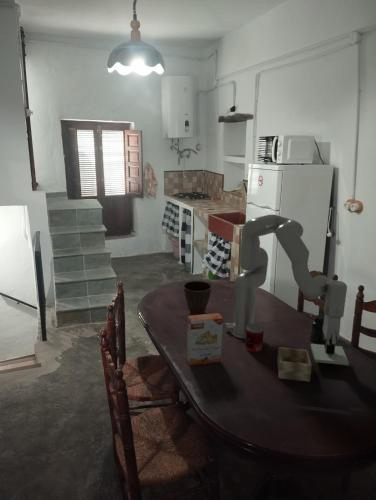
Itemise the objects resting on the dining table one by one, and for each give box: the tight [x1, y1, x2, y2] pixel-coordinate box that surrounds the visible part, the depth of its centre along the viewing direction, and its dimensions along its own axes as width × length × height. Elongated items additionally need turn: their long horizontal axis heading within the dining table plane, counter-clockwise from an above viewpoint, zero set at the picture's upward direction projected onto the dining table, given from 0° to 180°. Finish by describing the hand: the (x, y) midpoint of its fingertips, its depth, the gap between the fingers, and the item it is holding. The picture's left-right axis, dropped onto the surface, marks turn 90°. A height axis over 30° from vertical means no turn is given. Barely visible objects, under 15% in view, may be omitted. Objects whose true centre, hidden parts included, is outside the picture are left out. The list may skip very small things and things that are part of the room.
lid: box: [310, 337, 350, 366], centre depth 161 cm, size 13×13×8 cm
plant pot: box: [183, 280, 213, 315], centre depth 210 cm, size 15×15×16 cm
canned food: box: [244, 323, 264, 353], centre depth 174 cm, size 8×8×11 cm
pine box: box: [276, 346, 313, 382], centre depth 157 cm, size 12×12×8 cm
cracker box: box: [186, 312, 224, 367], centre depth 163 cm, size 14×6×21 cm, turn 104°
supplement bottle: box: [309, 314, 326, 344], centre depth 183 cm, size 7×7×12 cm
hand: (329, 350), depth 162 cm, fingers closed on lid, 3 cm apart
